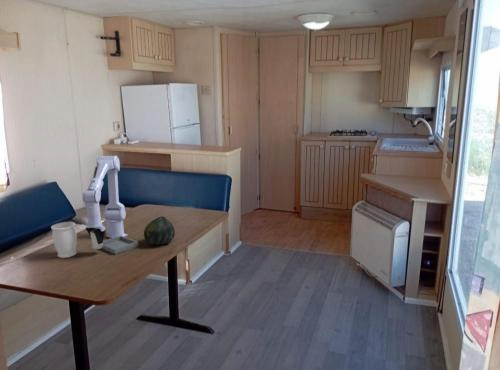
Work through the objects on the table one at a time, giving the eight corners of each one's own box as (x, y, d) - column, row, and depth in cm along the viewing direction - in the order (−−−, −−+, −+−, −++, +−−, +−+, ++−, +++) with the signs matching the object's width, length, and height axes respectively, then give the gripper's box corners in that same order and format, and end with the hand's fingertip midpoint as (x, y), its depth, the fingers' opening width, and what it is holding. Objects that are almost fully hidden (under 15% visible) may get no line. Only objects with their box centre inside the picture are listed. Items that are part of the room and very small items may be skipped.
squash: (138, 231, 206) (144, 214, 196) (164, 225, 215) (172, 209, 205) (147, 254, 199) (154, 238, 189) (174, 248, 208) (182, 232, 198)
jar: (83, 251, 194) (80, 222, 191) (68, 260, 185) (63, 229, 181) (66, 249, 198) (62, 220, 194) (50, 257, 188) (45, 227, 185)
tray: (98, 247, 199) (98, 242, 199) (121, 240, 209) (121, 235, 208) (115, 254, 190) (114, 249, 189) (138, 246, 199) (137, 241, 199)
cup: (90, 247, 191) (88, 231, 189) (99, 244, 194) (97, 228, 193) (95, 249, 188) (93, 233, 186) (105, 246, 191) (103, 230, 189)
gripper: (78, 214, 189) (81, 241, 192) (94, 220, 180) (97, 248, 183) (92, 210, 194) (95, 237, 197) (108, 216, 185) (111, 243, 188)
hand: (97, 242), depth 190 cm, fingers closed on cup, 5 cm apart
